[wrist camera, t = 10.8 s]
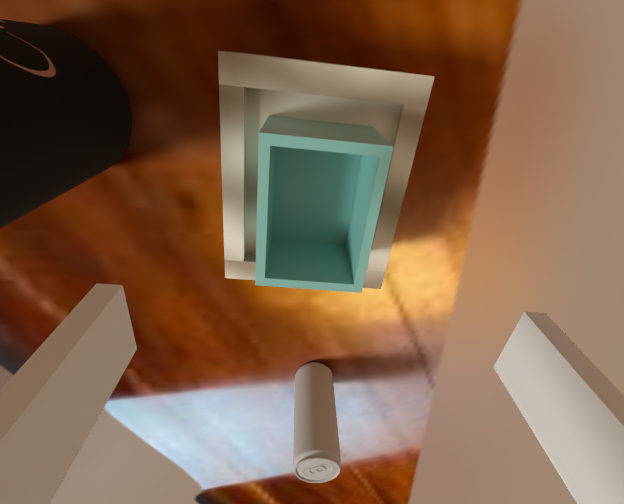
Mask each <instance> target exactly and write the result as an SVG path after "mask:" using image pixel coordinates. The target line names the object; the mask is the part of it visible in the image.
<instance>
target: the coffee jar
mask: <svg viewBox="0 0 624 504" xmlns="http://www.w3.org/2000/svg"><path fill="white" fill-rule="evenodd" d="M131 127H132V119H131V113H130V107H129V102H128V99H127V97H126V95H125V92H124V90H123V88H122V86H121V84H120V82H119V80H118V78H117V76H116V75H115V74H114V73H113V71H112V70H111V69H110V68H109V66H108V65H107V64H106V63H105V61H104V60H103V59H102V58H101V57H100V56H99V55H98V54H97V53H96V52H94V51H93V50H92V49H91V48H89V47H88V46H87V45H86V44H84V43H83V42H82V41H80V40H79V39H78V38H77V37H75V36H72V35H70V34H68V33H65V32H63V31H61V30H58V29H56V28H54V27H51V26H47V25H39V24H32V23H25V22H17V21H10V20H2V19H0V228H2V227H3V226H5V225H7V224H9V223H11V222H12V221H14V220H16V219H18V218H20V217H21V216H23V215H25V214H27V213H29V212H30V211H32V210H34V209H36V208H38V207H39V206H41V205H43V204H45V203H47V202H48V201H50V200H52V199H54V198H56V197H57V196H59V195H61V194H63V193H65V192H66V191H68V190H70V189H72V188H74V187H75V186H77V185H79V184H81V183H83V182H84V181H86V180H88V179H90V178H92V177H93V176H95V175H97V174H99V173H101V172H102V171H104V170H106V169H107V168H109V167H110V166H111V165H113V164H114V163H116V162H117V161H118V160H120V158H121V157H122V155H123V153H124V151H125V150H126V148H127V146H128V145H129V140H130V134H131Z"/></svg>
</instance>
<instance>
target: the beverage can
mask: <svg viewBox="0 0 624 504" xmlns="http://www.w3.org/2000/svg"><path fill="white" fill-rule="evenodd" d="M293 464H294V468H295V469H294V471H295V475H296V476H297V477H298V478H299V479H301V480H303V481H306V482H310V483H322V482H327V481H330V480H332V479H334V478H336V477H337V476H338V474H339V472H340V464H341V459H340V448H339V438H338V428H337V417H336V407H335V396H334V386H333V376H332V372H331V370H330V369H329V368H328V367H327V366H325V365H324V364H322V363H318V362H310V363H307V364H304V365H303V366H301V367H300V369H299V370H298V371H297V372H296V375H295V408H294V451H293Z"/></svg>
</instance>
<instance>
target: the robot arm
mask: <svg viewBox="0 0 624 504" xmlns="http://www.w3.org/2000/svg"><path fill="white" fill-rule="evenodd" d="M136 349H137V347H136V342H135V338H134V334H133V329H132V325H131V321H130V316H129V312H128V307H127V303H126V299H125V294H124V290H123V286H122V285H110V284H96V285H95V286H94V287H93V288H92V289H91V290H90V292H89V293H88V294H87V295H86V296H85V297H84V298H83V299H82V300H81V301H80V303H79V304H78V305H77V306H76V307H75V308H74V309H73V310H72V311H71V313H70V314H69V315H68V316H67V317H66V318H65V319H64V320H63V321H62V323H61V324H60V325H59V326H58V327H57V328H56V329H55V330H54V331H53V333H52V334H51V335H50V336H49V337H48V338H47V339H46V340H45V341H44V343H43V344H42V345H41V346H40V347H39V348H38V349H37V350H36V351H35V353H34V354H33V355H32V356H31V357H30V358H29V359H28V360H27V361H26V363H25V364H24V365H23V366H22V367H21V368H20V369H19V370H18V371H17V373H16V374H15V375H14V376H13V377H12V378H11V379H10V380H9V382H8V383H7V384H6V385H5V386H4V387H3V388H2V389H1V390H0V504H50V502H51V500H52V498H53V497H54V495H55V493H56V491H57V490H58V488H59V486H60V484H61V483H62V481H63V479H64V477H65V475H66V474H67V472H68V470H69V468H70V467H71V465H72V463H73V461H74V459H75V458H76V456H77V454H78V452H79V451H80V449H81V447H82V445H83V444H84V442H85V440H86V438H87V436H88V435H89V433H90V431H91V429H92V427H93V426H94V424H95V422H96V420H97V418H98V417H99V415H100V413H101V411H102V410H103V408H104V406H105V404H106V403H107V401H108V399H109V397H110V396H111V394H112V392H113V390H114V389H115V387H116V385H117V383H118V381H119V380H120V378H121V376H122V374H123V373H124V371H125V369H126V367H127V365H128V364H129V362H130V360H131V358H132V357H133V355H134V353H135V351H136ZM494 369H495V370H496V372H497V374H498V375H499V377H500V378H501V380H502V382H503V384H504V385H505V387H506V388H507V390H508V392H509V393H510V395H511V397H512V398H513V400H514V401H515V403H516V405H517V406H518V408H519V410H520V411H521V413H522V415H523V416H524V418H525V419H526V421H527V422H528V424H529V426H530V428H531V429H532V431H533V432H534V434H535V436H536V437H537V439H538V441H539V442H540V444H541V445H542V447H543V449H544V450H545V452H546V453H547V455H548V457H549V459H550V460H551V462H552V463H553V465H554V467H555V468H556V470H557V472H558V473H559V475H560V476H561V478H562V480H563V481H564V483H565V484H566V486H567V488H568V489H569V491H570V492H571V494H572V496H573V497H574V499H575V501H576V503H577V504H624V396H623V394H622V393H621V392H620V391H619V390H618V389H617V388H616V387H615V386H614V385H613V384H612V383H611V382H610V381H609V380H608V379H607V378H606V376H605V375H604V374H603V373H602V372H601V371H600V370H599V369H598V368H597V367H596V366H595V365H594V364H593V363H592V362H591V361H590V360H589V359H588V357H587V356H586V355H585V354H584V353H583V352H582V351H581V350H580V349H579V348H578V347H577V346H576V345H575V344H574V343H573V342H572V341H571V339H570V338H569V337H568V336H567V335H566V334H565V333H564V332H563V331H562V330H561V329H560V328H559V327H558V326H557V325H556V324H555V323H554V322H553V320H552V319H551V318H550V317H549V316H548V315H547V314H546V313H537V312H536V313H535V312H524V313H523V315H522V317H521V318H520V320H519V322H518V324H517V326H516V328H515V329H514V331H513V333H512V335H511V337H510V338H509V340H508V342H507V344H506V346H505V347H504V349H503V351H502V353H501V355H500V356H499V358H498V360H497V362H496V364H495V366H494Z"/></svg>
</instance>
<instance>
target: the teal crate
mask: <svg viewBox="0 0 624 504" xmlns="http://www.w3.org/2000/svg"><path fill="white" fill-rule="evenodd" d="M393 147H394V146H393V145H392V144H391V143H390V142H389V141H387V140H386V139H385V138H384V137H383V136H382V135H381V134H380V133H379V132H378V131H377V130H376V129H375V128H374V127H372V126H362V125H353V124H344V123H335V122H325V121H316V120H307V119H297V118H288V117H279V116H268V118H267V120H266V121H265V123H264V125H263V126H262V128H261V130H260V131H259V144H258V187H257V229H256V271H255V285H261V286H275V287H289V288H304V289H318V290H332V291H346V292H362V288H363V283H364V279H365V274H366V270H367V265H368V261H369V256H370V252H371V247H372V243H373V238H374V233H375V229H376V224H377V220H378V215H379V211H380V206H381V202H382V197H383V193H384V188H385V184H386V179H387V175H388V170H389V166H390V161H391V156H392V152H393Z"/></svg>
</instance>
